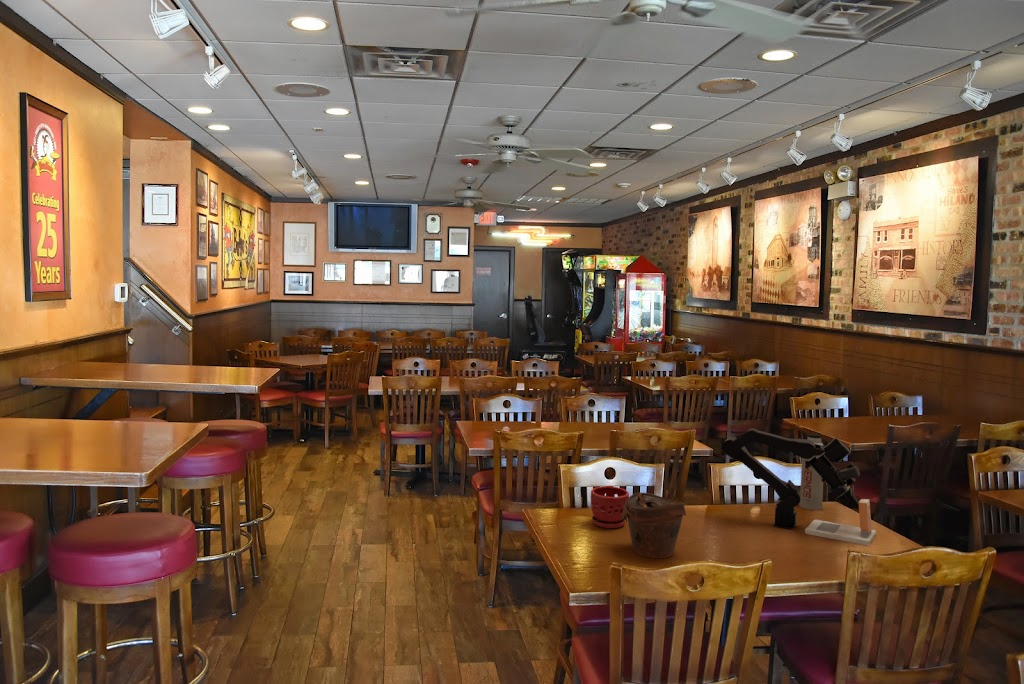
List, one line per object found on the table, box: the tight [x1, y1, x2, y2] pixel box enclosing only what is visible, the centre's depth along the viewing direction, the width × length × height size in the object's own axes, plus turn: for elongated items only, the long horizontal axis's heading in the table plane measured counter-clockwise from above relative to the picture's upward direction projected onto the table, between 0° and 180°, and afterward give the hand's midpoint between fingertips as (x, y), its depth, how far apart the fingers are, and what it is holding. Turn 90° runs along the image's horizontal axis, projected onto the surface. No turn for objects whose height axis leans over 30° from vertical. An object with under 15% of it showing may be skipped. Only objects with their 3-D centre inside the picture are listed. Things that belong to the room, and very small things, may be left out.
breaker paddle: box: [858, 498, 873, 533], centre depth 262 cm, size 3×6×11 cm, turn 146°
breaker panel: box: [804, 519, 877, 546], centre depth 267 cm, size 20×14×4 cm
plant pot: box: [590, 485, 630, 529], centre depth 271 cm, size 13×13×12 cm
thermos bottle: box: [799, 433, 826, 511], centre depth 298 cm, size 8×8×28 cm
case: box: [621, 491, 687, 559], centre depth 245 cm, size 18×20×18 cm
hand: (859, 508), depth 263 cm, fingers closed, pressing on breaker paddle
